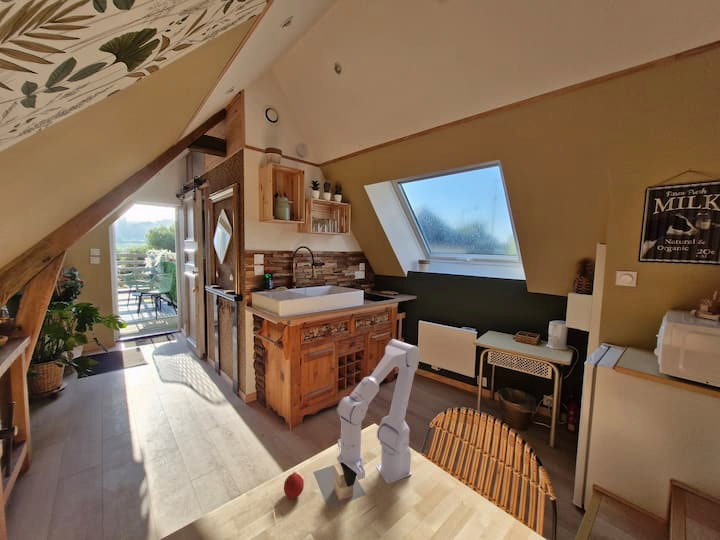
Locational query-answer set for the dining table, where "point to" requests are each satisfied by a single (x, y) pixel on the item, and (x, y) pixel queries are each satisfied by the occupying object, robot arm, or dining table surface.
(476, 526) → the dining table surface
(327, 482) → the mat
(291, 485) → the onion
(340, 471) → the beech block
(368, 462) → the dining table surface
